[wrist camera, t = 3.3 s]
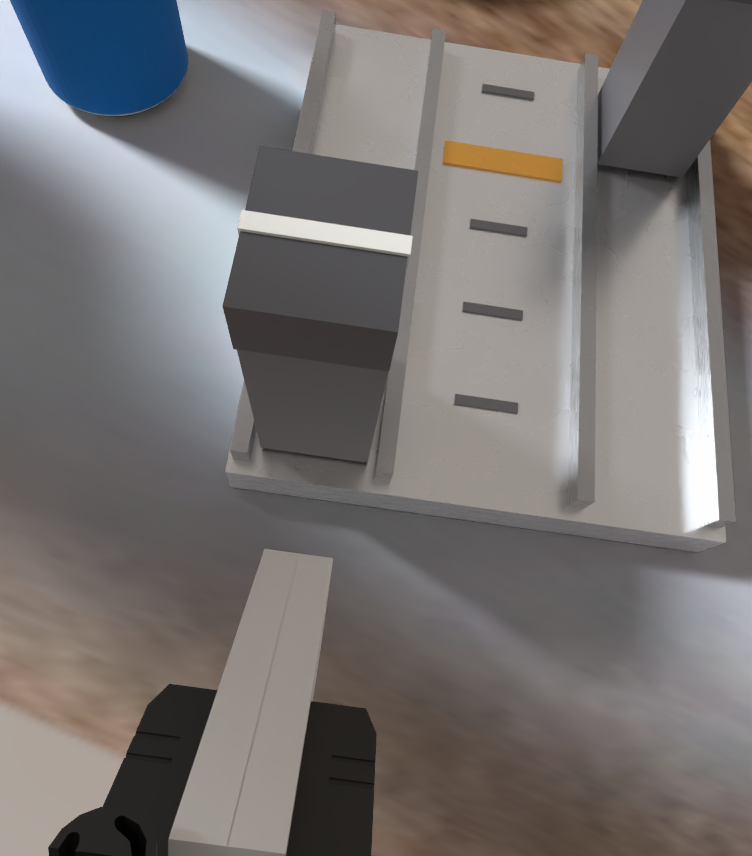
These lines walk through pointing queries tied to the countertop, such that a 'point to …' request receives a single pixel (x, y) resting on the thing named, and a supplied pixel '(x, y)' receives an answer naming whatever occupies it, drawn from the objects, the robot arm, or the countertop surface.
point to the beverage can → (107, 51)
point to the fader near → (319, 297)
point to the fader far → (673, 83)
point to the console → (524, 305)
